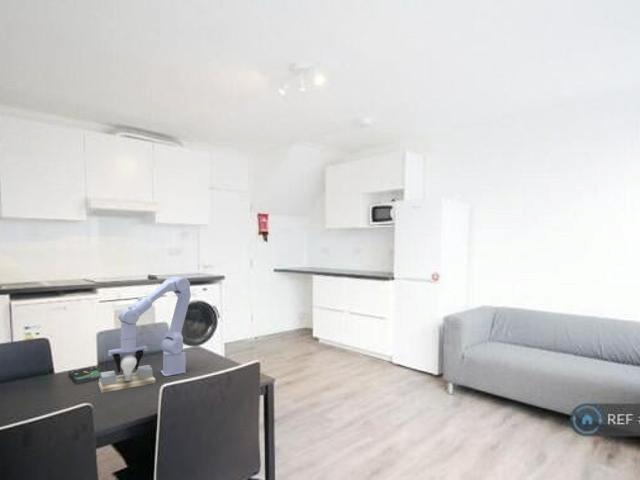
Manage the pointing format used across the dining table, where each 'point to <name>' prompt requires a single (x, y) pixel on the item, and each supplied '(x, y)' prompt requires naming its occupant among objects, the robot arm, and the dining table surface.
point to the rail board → (114, 382)
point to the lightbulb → (128, 366)
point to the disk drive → (84, 375)
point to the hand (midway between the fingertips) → (127, 370)
